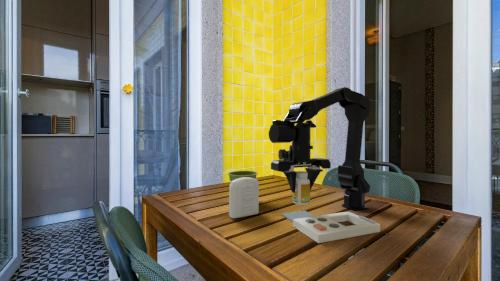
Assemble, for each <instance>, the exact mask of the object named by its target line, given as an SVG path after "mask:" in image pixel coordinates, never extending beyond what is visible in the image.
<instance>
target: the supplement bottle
mask: <svg viewBox="0 0 500 281" xmlns="http://www.w3.org/2000/svg"><path fill="white" fill-rule="evenodd" d="M296 172H297V173H296V186H295V192H294V193H293V192H292V203H294V204H295V205H299V206H301V205H302V206H304V205H309V204H310V203H311V190H310V181H309V179H307V177H308V172H306V171H300V170H299V171H296Z"/></svg>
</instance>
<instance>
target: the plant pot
mask: <svg viewBox="0 0 500 281" xmlns="http://www.w3.org/2000/svg"><path fill="white" fill-rule="evenodd" d="M227 175H228V177H229V181H230V182H231V181H233V180H235V179H238V178H242V177H250V178H254V179H257V175H258V172H257V171H254V170H236V171H235V170H233V171H230V172H228V173H227Z"/></svg>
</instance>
